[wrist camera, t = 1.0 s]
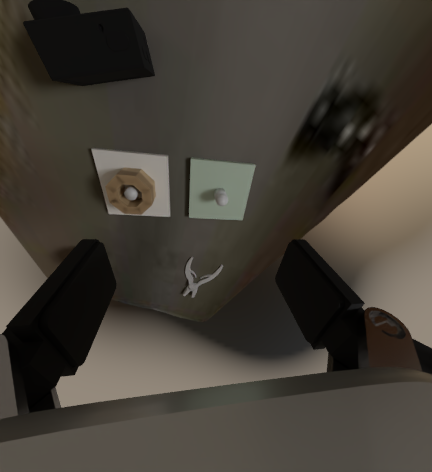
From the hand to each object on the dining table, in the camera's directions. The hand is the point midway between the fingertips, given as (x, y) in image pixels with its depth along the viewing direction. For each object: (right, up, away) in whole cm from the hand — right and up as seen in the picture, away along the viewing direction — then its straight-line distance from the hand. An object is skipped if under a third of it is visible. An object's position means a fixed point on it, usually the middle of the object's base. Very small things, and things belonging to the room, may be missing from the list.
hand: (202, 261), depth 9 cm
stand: (-14, +11, +24) cm, 30 cm away
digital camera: (-13, +26, +14) cm, 32 cm away
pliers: (-5, -11, +43) cm, 44 cm away
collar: (-14, +10, +24) cm, 30 cm away
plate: (+1, +11, +27) cm, 29 cm away
